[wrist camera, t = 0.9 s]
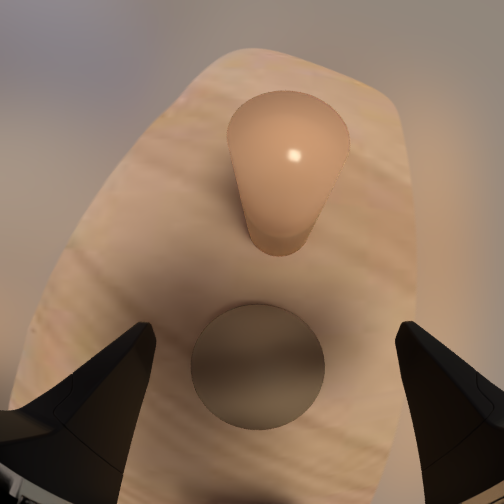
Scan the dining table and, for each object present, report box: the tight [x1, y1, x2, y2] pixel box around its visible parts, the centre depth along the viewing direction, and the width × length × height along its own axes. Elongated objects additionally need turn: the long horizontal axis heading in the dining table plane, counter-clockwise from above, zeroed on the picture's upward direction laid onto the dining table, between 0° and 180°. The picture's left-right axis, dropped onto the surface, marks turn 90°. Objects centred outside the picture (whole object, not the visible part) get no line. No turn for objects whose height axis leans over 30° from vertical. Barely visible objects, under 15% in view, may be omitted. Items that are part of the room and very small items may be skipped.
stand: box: [191, 305, 325, 430], centre depth 20 cm, size 10×10×2 cm
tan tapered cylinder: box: [227, 91, 350, 256], centre depth 17 cm, size 5×5×13 cm
